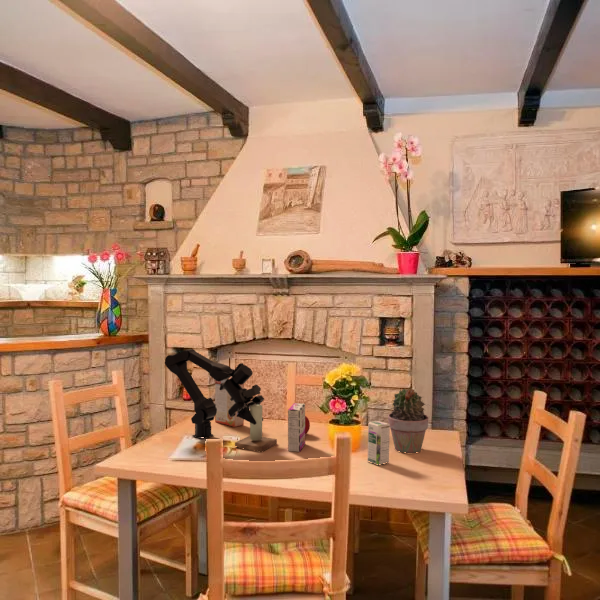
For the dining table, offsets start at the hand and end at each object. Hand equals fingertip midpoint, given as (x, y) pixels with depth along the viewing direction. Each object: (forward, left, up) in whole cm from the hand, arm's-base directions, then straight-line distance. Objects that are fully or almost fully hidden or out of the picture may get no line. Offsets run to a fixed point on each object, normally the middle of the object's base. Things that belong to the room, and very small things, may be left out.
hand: (259, 422), depth 218 cm
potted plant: (+48, +33, -10) cm, 59 cm away
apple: (+3, +23, -10) cm, 25 cm away
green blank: (-1, 0, -7) cm, 7 cm away
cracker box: (-33, +18, -10) cm, 39 cm away
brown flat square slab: (-1, 0, -9) cm, 10 cm away
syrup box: (+47, +12, -10) cm, 49 cm away
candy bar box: (+13, +8, -10) cm, 18 cm away
